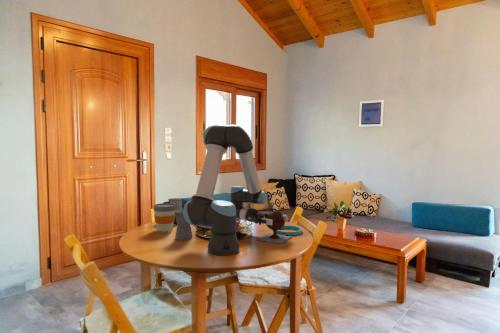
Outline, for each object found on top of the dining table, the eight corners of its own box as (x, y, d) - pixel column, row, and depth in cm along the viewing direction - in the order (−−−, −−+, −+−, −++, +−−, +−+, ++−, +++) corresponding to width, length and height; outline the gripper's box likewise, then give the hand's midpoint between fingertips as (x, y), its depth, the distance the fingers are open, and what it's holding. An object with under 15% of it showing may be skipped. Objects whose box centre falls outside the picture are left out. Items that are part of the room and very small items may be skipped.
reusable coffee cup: (150, 232, 190) (150, 206, 189) (158, 227, 203) (158, 202, 202) (171, 233, 189) (171, 207, 188) (178, 228, 201) (178, 203, 200)
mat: (281, 244, 170) (281, 242, 170) (257, 240, 177) (257, 238, 177) (292, 237, 182) (292, 236, 182) (269, 234, 189) (269, 232, 189)
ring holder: (295, 237, 183) (295, 233, 183) (269, 232, 191) (269, 229, 191) (305, 230, 197) (305, 227, 197) (281, 227, 205) (281, 223, 205)
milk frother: (177, 219, 225) (177, 197, 224) (191, 223, 213) (191, 200, 213) (158, 222, 215) (158, 199, 214) (171, 227, 204) (171, 203, 203)
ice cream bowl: (284, 235, 185) (285, 208, 183) (284, 241, 173) (285, 212, 172) (265, 234, 186) (266, 207, 184) (264, 240, 175) (265, 211, 173)
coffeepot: (181, 242, 171) (181, 208, 170) (168, 239, 176) (168, 206, 175) (201, 236, 184) (201, 203, 183) (188, 233, 189) (188, 202, 188)
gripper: (262, 217, 200) (292, 223, 187) (234, 225, 181) (265, 231, 168) (262, 205, 200) (292, 210, 186) (234, 211, 181) (265, 217, 167)
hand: (279, 220), depth 177 cm, fingers open, 13 cm apart
